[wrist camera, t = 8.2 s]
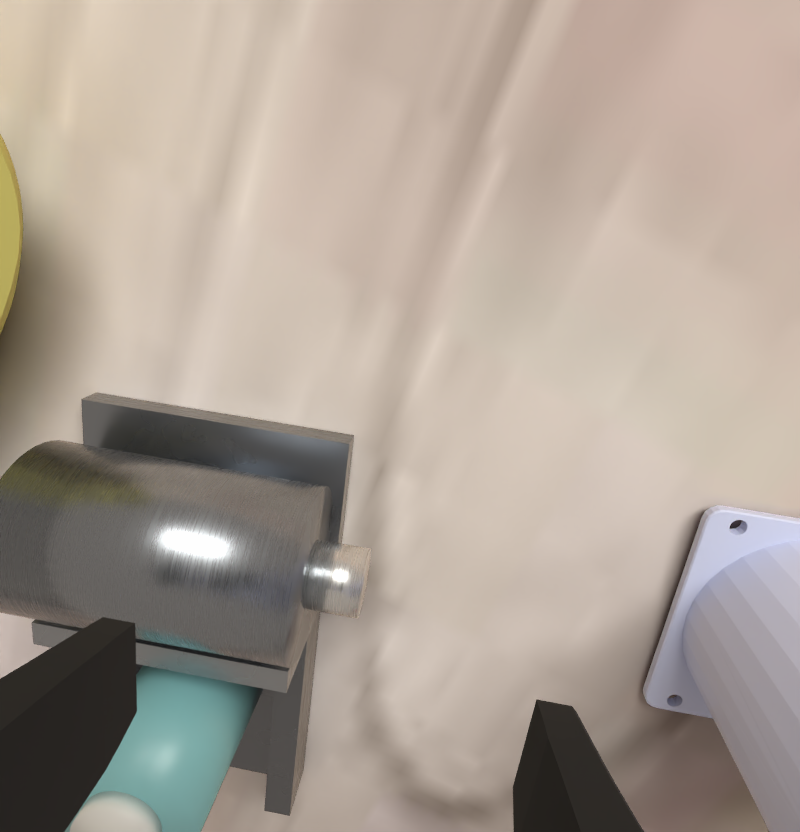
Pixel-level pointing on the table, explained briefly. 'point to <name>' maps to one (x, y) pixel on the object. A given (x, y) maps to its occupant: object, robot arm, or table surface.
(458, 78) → the table surface
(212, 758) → the teal rounded cylinder
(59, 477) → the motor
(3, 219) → the plastic component
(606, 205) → the table surface
